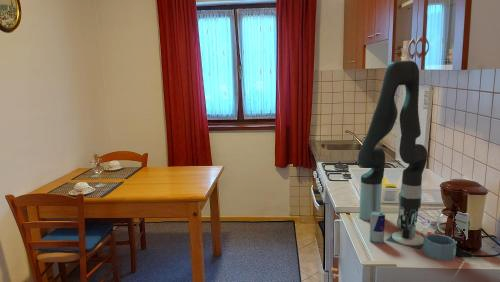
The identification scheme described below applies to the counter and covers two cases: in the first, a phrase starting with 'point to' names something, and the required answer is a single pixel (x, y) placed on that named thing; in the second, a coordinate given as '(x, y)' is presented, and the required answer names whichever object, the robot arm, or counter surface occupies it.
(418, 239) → the lid
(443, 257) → the bowl
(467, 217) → the syrup box
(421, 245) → the mat
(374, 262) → the counter surface
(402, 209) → the plastic bottle
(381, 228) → the energy drink
